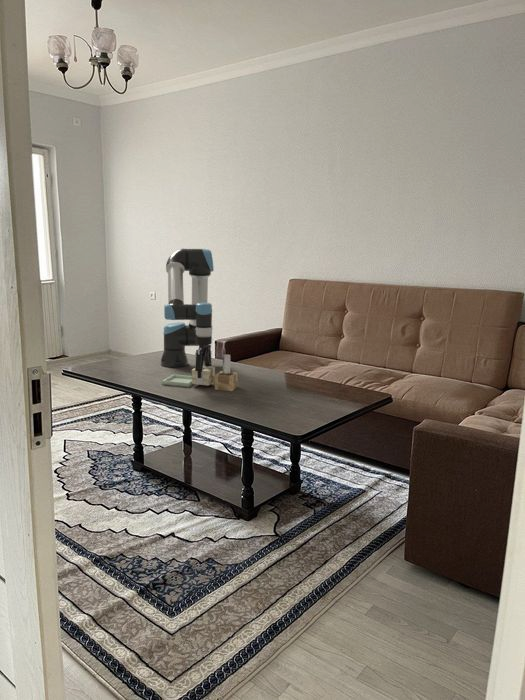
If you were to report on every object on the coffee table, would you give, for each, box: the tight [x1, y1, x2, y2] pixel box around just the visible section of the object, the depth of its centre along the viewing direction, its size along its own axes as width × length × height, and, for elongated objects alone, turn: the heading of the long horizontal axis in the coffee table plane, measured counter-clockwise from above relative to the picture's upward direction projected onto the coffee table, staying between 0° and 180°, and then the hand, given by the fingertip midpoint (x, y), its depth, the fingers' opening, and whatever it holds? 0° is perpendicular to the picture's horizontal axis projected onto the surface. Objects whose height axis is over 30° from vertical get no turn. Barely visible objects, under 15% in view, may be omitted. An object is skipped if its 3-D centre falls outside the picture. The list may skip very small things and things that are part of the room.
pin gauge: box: [222, 354, 231, 376], centre depth 257 cm, size 4×4×16 cm
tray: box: [161, 374, 194, 388], centre depth 266 cm, size 14×14×2 cm
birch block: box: [191, 366, 216, 387], centre depth 261 cm, size 8×8×7 cm
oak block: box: [214, 370, 239, 392], centre depth 258 cm, size 8×8×7 cm
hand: (203, 381), depth 261 cm, fingers closed on birch block, 8 cm apart
